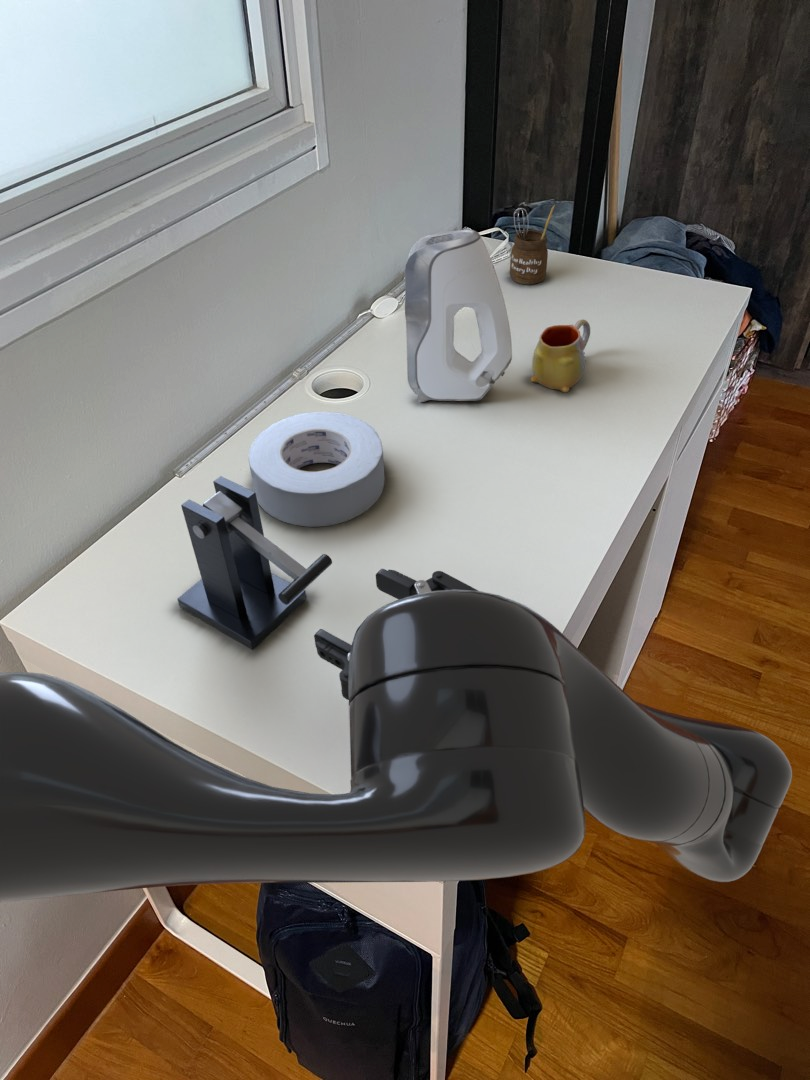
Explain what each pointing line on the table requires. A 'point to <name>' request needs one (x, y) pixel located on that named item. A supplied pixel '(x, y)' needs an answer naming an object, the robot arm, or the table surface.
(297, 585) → the switch lever
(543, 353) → the mug
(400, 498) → the table surface
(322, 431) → the tape roll
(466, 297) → the jug
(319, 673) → the table surface
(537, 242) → the utensil holder
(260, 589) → the switch bracket
